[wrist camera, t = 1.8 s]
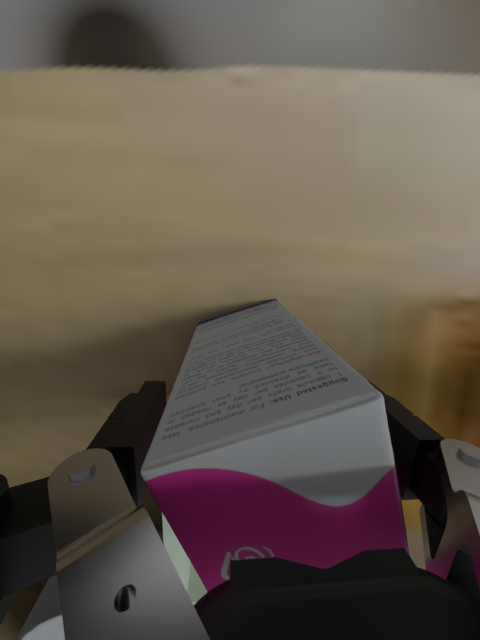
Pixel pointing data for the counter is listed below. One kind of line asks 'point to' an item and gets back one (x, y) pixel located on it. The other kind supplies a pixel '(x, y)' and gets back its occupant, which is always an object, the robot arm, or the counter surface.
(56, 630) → the tape roll
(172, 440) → the supplement box
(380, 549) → the robot arm
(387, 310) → the counter surface
